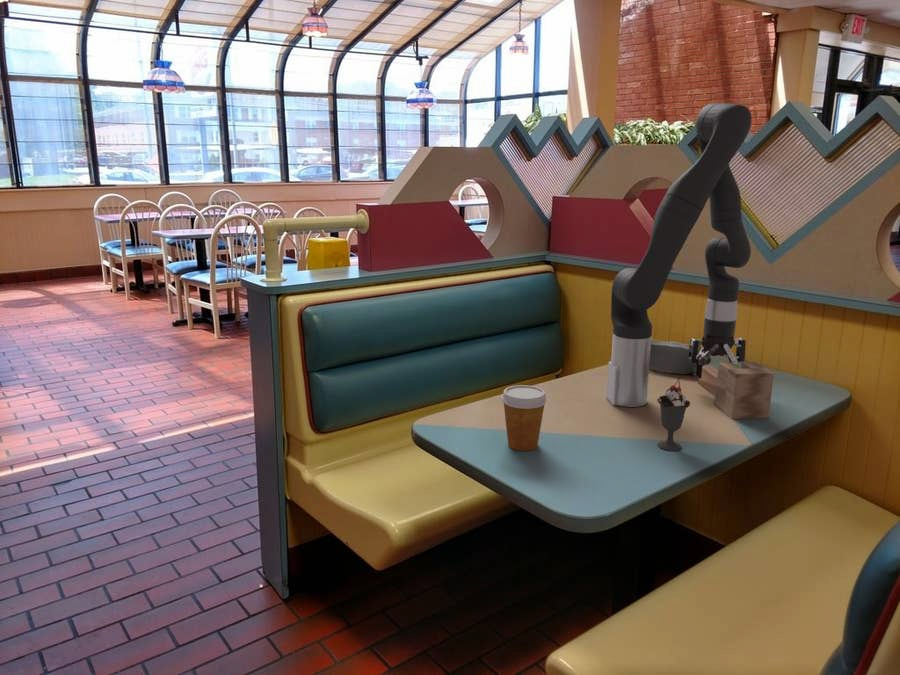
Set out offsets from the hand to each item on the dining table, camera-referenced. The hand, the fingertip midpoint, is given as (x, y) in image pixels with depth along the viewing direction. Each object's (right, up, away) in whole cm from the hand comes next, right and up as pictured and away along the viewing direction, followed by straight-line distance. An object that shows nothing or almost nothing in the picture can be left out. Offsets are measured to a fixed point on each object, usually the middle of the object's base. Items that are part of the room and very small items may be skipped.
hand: (713, 377), depth 185 cm
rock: (-5, +1, +21) cm, 21 cm away
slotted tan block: (+1, -7, -14) cm, 16 cm away
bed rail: (0, -5, -3) cm, 5 cm away
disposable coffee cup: (-53, -13, -33) cm, 64 cm away
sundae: (-22, -13, -34) cm, 42 cm away
